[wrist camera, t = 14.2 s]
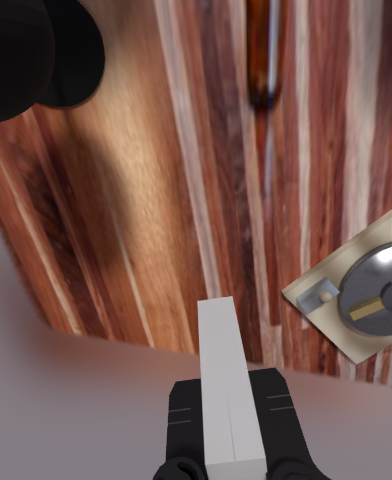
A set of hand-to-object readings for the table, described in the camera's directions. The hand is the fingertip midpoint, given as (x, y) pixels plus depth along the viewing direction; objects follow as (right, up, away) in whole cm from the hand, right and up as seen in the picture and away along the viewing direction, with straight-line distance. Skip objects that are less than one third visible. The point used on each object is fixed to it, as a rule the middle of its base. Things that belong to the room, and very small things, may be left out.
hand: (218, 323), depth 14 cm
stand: (+26, -2, +31) cm, 41 cm away
